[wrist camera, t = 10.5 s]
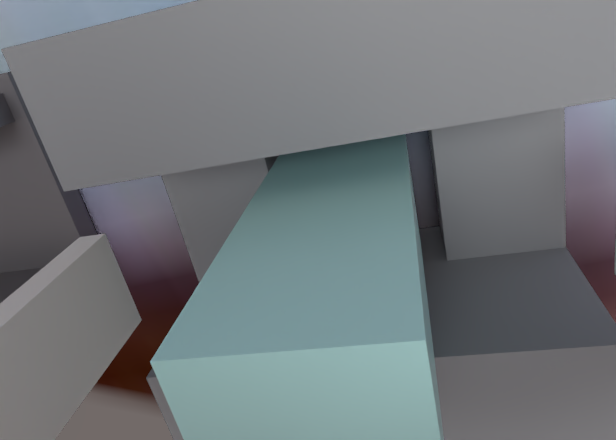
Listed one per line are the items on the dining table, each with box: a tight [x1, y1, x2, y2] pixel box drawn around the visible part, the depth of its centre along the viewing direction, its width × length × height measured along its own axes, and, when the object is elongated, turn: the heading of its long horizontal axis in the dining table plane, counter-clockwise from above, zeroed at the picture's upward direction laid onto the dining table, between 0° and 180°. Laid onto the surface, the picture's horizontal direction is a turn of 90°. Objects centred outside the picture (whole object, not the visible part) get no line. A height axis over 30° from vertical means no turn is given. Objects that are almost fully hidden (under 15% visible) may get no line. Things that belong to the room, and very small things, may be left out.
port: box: [1, 0, 616, 440], centre depth 15 cm, size 12×12×7 cm
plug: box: [150, 134, 444, 440], centre depth 12 cm, size 4×4×12 cm
